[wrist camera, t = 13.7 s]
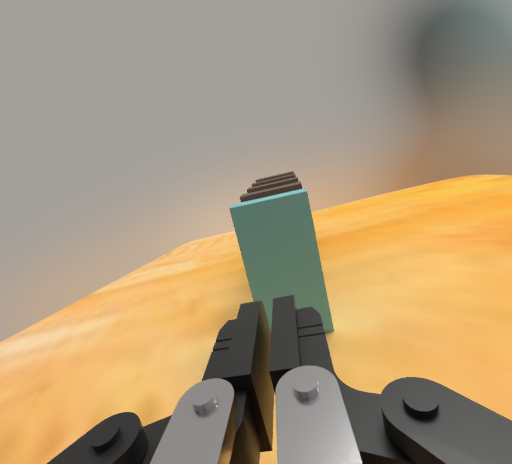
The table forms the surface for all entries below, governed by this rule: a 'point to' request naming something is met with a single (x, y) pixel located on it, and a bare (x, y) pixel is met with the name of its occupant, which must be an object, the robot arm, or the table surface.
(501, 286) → the table surface
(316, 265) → the domino
